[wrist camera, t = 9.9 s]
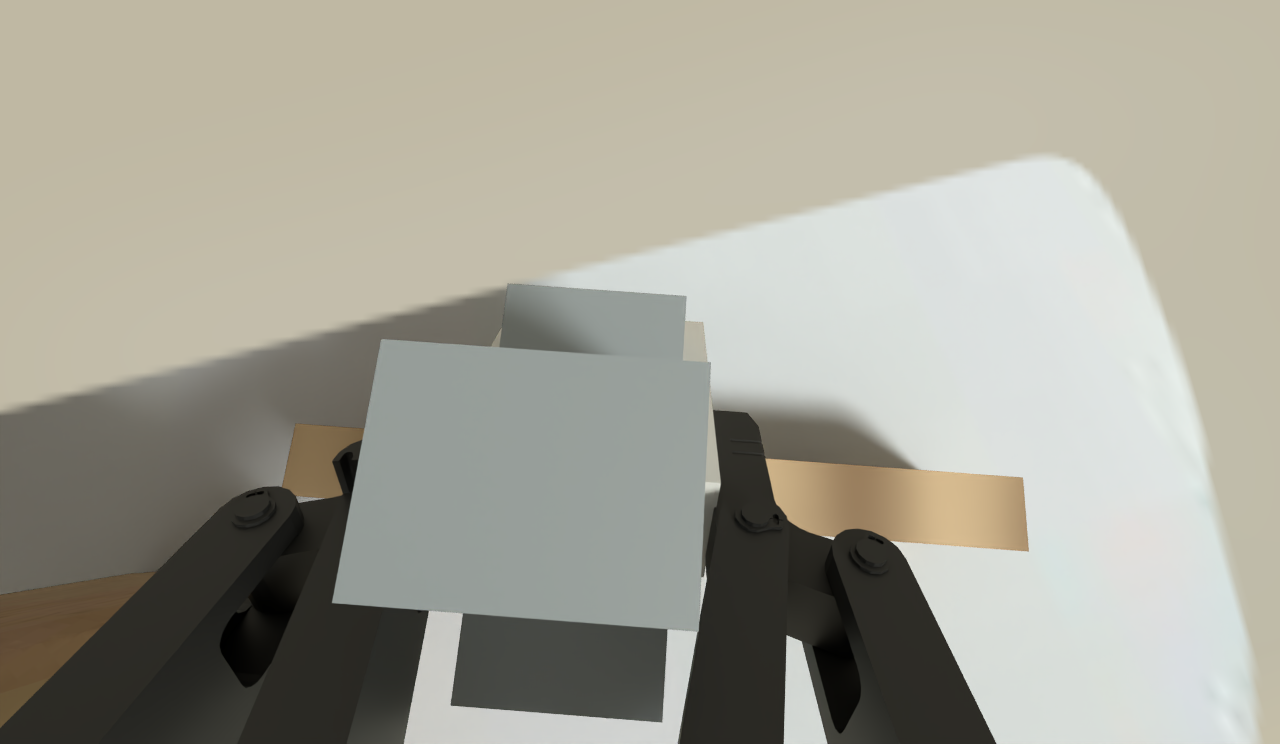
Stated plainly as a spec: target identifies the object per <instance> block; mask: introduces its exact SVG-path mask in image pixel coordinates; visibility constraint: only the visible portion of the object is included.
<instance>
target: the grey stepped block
mask: <svg viewBox="0 0 1280 744" xmlns="http://www.w3.org/2000/svg"><path fill="white" fill-rule="evenodd" d="M685 313H686V296H678V295H664V294H649V293H635V292H621V291H607V290H592V289H578V288H564V287H549V286H535V285H521V284H508V286H507V293H506V301H505V308H504V315H503V323H502V330H501V338H500V345H499V347H488V346H474V345H460V344H446V343H432V342H418V341H404V340H390V339H381V343H380V348H379V354H378V359H377V364H376V370H375V375H374V381H373V386H372V391H371V397H370V402H369V407H368V413H367V418H366V423H365V429H364V434H363V440H362V445H361V450H360V456H359V461H358V466H357V472H356V477H355V482H354V488H353V493H352V499H351V504H350V509H349V515H348V520H347V525H346V531H345V536H344V541H343V547H342V552H341V558H340V563H339V568H338V574H337V579H336V584H335V590H334V595H333V600H332V603H338V604H351V605H364V606H377V607H390V608H402V609H415V610H428V611H441V612H454V613H463V618H462V625H461V633H460V640H459V647H458V655H457V662H456V670H455V677H454V684H453V692H452V699H451V706H464V707H476V708H489V709H501V710H514V711H526V712H539V713H551V714H564V715H576V716H589V717H601V718H614V719H626V720H639V721H651V722H662V716H663V699H664V681H665V664H666V646H667V629H672V630H685V631H698V632H699V613H700V591H701V569H702V547H703V525H704V502H705V480H706V458H707V436H708V414H709V392H710V369H711V362H697V361H683V348H684V330H685Z"/></svg>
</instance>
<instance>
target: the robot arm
mask: <svg viewBox="0 0 1280 744" xmlns="http://www.w3.org/2000/svg"><path fill="white" fill-rule="evenodd" d="M501 330H502V328H501V329H500V331H499V333H498V334H497V336H496V338H495V340H494V341H493V343H492V345H491V347H499V345H500V338H501ZM683 361H697V362H707V353H706V344H705V335H704V326H703V322H691V321H685V330H684V348H683ZM761 442H762V441H761V436H760V432H759V427H758V425H757V424H756V423H755V422H754V421H753V419H752V418H751V417H750V416H749V415H748V413H742V412H729V411H715V410H713V408H712V399H711V390H710V392H709V414H708V436H707V458H706V480H705V502H704V525H703V547H702V569H701V577H704V572H705V566H706V575H707V583H706V588H705V593H704V598H703V604H702V609H701V614H700V621H699V632H697V638H696V644H695V649H694V655H693V661H692V666H691V672H690V677H689V683H688V689H687V694H686V700H685V706H684V711H683V717H682V722H681V728H680V734H679V739H678V744H784V709H785V672H786V635H788V636H790V637H793V638H795V639H798V640H800V641H802V644H803V648H804V652H805V656H806V660H807V664H808V668H809V672H810V676H811V680H812V684H813V688H814V692H815V696H816V700H817V704H818V708H819V711H820V715H821V719H822V723H823V727H824V731H825V735H826V739H827V743H828V744H996V742H995V740H994V738H993V736H992V734H991V732H990V730H989V728H988V726H987V724H986V721H985V719H984V717H983V715H982V713H981V711H980V709H979V707H978V705H977V703H976V701H975V699H974V697H973V695H972V693H971V691H970V689H969V687H968V685H967V683H966V681H965V679H964V677H963V674H962V672H961V670H960V668H959V666H958V664H957V662H956V660H955V658H954V656H953V654H952V652H951V650H950V648H949V646H948V644H947V642H946V640H945V638H944V636H943V634H942V632H941V630H940V627H939V625H938V623H937V621H936V619H935V617H934V615H933V613H932V611H931V609H930V607H929V605H928V603H927V601H926V599H925V597H924V595H923V593H922V591H921V589H920V587H919V585H918V583H917V580H916V578H915V576H914V574H913V572H912V570H911V568H910V566H909V564H908V562H907V560H906V558H905V557H904V555H903V554H902V553H901V551H900V550H899V549H898V547H897V546H895V545H894V544H893V543H892V542H890V541H889V540H888V539H887V538H885V537H883V536H881V535H879V534H877V533H875V532H872V531H868V530H863V529H858V528H857V529H848V530H844V531H842V532H841V533H839V534H837V535H836V537H835V539H834V540H831V539H828V538H825V537H822V536H819V535H816V534H813V533H810V532H808V531H805V530H803V529H801V528H799V527H797V526H796V525H794V524H793V523H791V522H790V521H789V520H788V519H787V516H786V515H785V513H784V512H783V511H782V509H781V508H780V507H779V506H778V505H776V502H775V499H774V495H773V490H772V486H771V481H770V477H769V472H768V468H767V463H766V459H765V456H764V450H763V445H762V444H761ZM361 445H362V440H360V441H357V442H355V443H352V444H350V445H349V446H347V447H346V448H344V449H343V450H341V451H340V452H339V453H338V454H337V455H336V457H335V458H334V459H333V460H332V463H333V466H334V469H335V472H336V475H337V478H338V481H339V484H340V487H341V490H342V493H343V494H342V495H341V496H336V497H332V498H327V499H321V500H314V501H308V502H302V503H298V501H297V498H296V496H295V495H294V494H293V493H292V492H291V491H290V490H289V489H286V488H282V487H279V486H277V487H262V488H258V489H255V490H251V491H248V492H245V493H243V494H241V495H239V496H237V497H235V498H233V499H232V500H230V501H229V502H228V503H226V504H225V505H224V506H223V507H221V508H220V509H219V510H218V511H217V512H216V513H215V514H214V515H213V516H212V517H211V518H210V519H209V520H208V521H207V522H206V523H205V524H204V525H203V526H202V527H201V528H200V529H199V530H198V531H197V532H196V533H195V534H194V535H193V536H192V537H191V538H190V539H189V540H188V541H187V542H186V543H185V544H184V545H183V546H182V547H181V548H180V549H179V550H178V551H177V552H176V553H175V554H174V555H173V556H172V557H171V558H170V559H169V560H168V561H167V562H166V563H165V564H164V565H163V566H162V567H161V568H160V569H159V570H158V571H157V572H156V573H155V574H154V575H153V576H152V577H151V578H150V579H149V580H148V581H147V582H146V583H145V584H144V585H143V586H142V587H141V588H140V589H139V590H138V591H137V592H136V593H135V594H134V595H133V596H132V597H131V598H130V599H129V600H128V601H127V602H126V603H125V604H124V605H123V606H122V607H121V608H120V609H119V610H118V611H117V612H116V613H115V614H114V615H113V616H112V617H111V618H110V619H109V620H108V621H107V622H106V623H105V624H104V625H103V626H102V627H101V628H100V629H99V630H98V631H97V632H96V633H95V634H94V635H93V636H92V637H91V638H90V639H89V640H88V641H87V642H86V643H85V644H84V645H83V646H82V647H81V648H80V649H79V650H78V651H77V652H76V653H75V654H74V655H73V656H72V657H71V658H70V659H69V660H68V661H67V662H66V663H65V664H64V665H63V666H62V667H61V668H60V669H59V670H58V671H57V672H56V673H55V674H54V675H53V676H52V677H51V678H50V679H49V680H48V681H47V682H46V683H45V684H44V685H43V686H42V687H41V688H40V689H39V690H38V691H37V692H36V693H35V694H34V695H33V696H32V697H31V698H30V699H29V700H28V701H27V702H26V703H25V704H24V705H23V706H22V707H21V708H20V709H19V710H18V711H17V712H16V713H15V714H14V715H13V716H12V717H11V718H10V719H9V720H8V721H7V722H6V723H5V724H4V725H3V726H2V727H1V728H0V744H404V739H405V733H406V728H407V723H408V718H409V712H410V707H411V702H412V697H413V691H414V686H415V681H416V676H417V670H418V665H419V660H420V655H421V649H422V644H423V639H424V634H425V628H426V623H427V618H428V613H429V611H428V610H415V609H402V608H390V607H377V606H364V605H351V604H338V603H332V600H333V595H334V590H335V584H336V579H337V574H338V568H339V563H340V558H341V552H342V547H343V541H344V536H345V531H346V525H347V520H348V515H349V509H350V504H351V499H352V493H353V488H354V482H355V477H356V472H357V466H358V461H359V456H360V450H361Z"/></svg>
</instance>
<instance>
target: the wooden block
mask: <svg viewBox="0 0 1280 744" xmlns="http://www.w3.org/2000/svg"><path fill="white" fill-rule="evenodd" d="M155 573H156V572H147V573H131V574H125V575H119V576H112V577H106V578H100V579H94V580H88V581H82V582H76V583H70V584H64V585H58V586H51V587H45V588H39V589H33V590H27V591H21V592H15V593H9V594H3V595H0V728H1V727H2V726H3V725H4V724H5V723H6V722H7V721H8V720H9V719H10V718H11V717H12V716H13V715H14V714H15V713H16V712H17V711H18V710H19V709H20V708H21V707H22V706H23V705H24V704H25V703H26V702H27V701H28V700H29V699H30V698H31V697H32V696H33V695H34V694H35V693H36V692H37V691H38V690H39V689H40V688H41V687H42V686H43V685H44V684H45V683H46V682H47V681H48V680H49V679H50V678H51V677H52V676H53V675H54V674H55V673H56V672H57V671H58V670H59V669H60V668H61V667H62V666H63V665H64V664H65V663H66V662H67V661H68V660H69V659H70V658H71V657H72V656H73V655H74V654H75V653H76V652H77V651H78V650H79V649H80V648H81V647H82V646H83V645H84V644H85V643H86V642H87V641H88V640H89V639H90V638H91V637H92V636H93V635H94V634H95V633H96V632H97V631H98V630H99V629H100V628H101V627H102V626H103V625H104V624H105V623H106V622H107V621H108V620H109V619H110V618H111V617H112V616H113V615H114V614H115V613H116V612H117V611H118V610H119V609H120V608H121V607H122V606H123V605H124V604H125V603H126V602H127V601H128V600H129V599H130V598H131V597H132V596H133V595H134V594H135V593H136V592H137V591H138V590H139V589H140V588H141V587H142V586H143V585H144V584H145V583H146V582H147V581H148V580H149V579H150V578H151V577H152V576H153V575H154V574H155Z"/></svg>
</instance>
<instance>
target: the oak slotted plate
mask: <svg viewBox="0 0 1280 744" xmlns="http://www.w3.org/2000/svg"><path fill="white" fill-rule="evenodd" d="M363 434H364V429H362V428H349V427H336V426H322V425H309V424H295V428H294V433H293V438H292V443H291V447H290V452H289V457H288V461H287V466H286V471H285V475H284V480H283V485H282V488H286V489H289V490H290V491H291V492H292V493H293V494H294V495H295V496H303V497H316V498H332V497H336V496H341V495H342V494H343V493H342V490H341V487H340V484H339V481H338V478H337V475H336V472H335V469H334V466H333V463H332V460H333V459H334V458H335V457H336V455H337V454H338V453H339V452H340V451H341V450H343V449H344V448H346V447H347V446H349V445H350V444H352V443H355V442H357V441H360V440H363ZM765 459H766V458H765ZM766 463H767V468H768V472H769V477H770V481H771V486H772V490H773V495H774V499H775V502H776V505H778V506H779V507H780V508H781V509H782V511H783V512H784V513H785V515H786V516H787V519H788V520H789V521H790V522H791V523H793V524H794V525H796V526H797V527H799V528H801V529H803V530H805V531H808V532H810V533H813V534H816V535H819V536H832V537H836V535H837V534H839V533H841V532H842V531H844V530H848V529H857V528H858V529H863V530H868V531H872V532H875V533H877V534H879V535H881V536H883V537H885V538H887V539H888V540H889V541H898V542H911V543H924V544H937V545H951V546H964V547H977V548H990V549H1004V550H1017V551H1029V548H1028V536H1027V523H1026V511H1025V498H1024V486H1023V478H1021V477H1007V476H994V475H981V474H967V473H954V472H940V471H927V470H913V469H900V468H887V467H873V466H860V465H846V464H833V463H819V462H806V461H792V460H779V459H766Z"/></svg>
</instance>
